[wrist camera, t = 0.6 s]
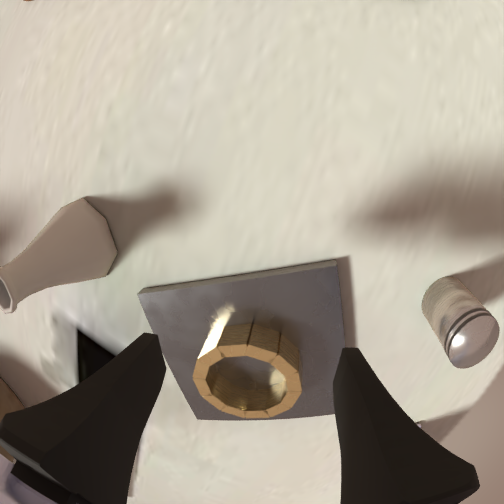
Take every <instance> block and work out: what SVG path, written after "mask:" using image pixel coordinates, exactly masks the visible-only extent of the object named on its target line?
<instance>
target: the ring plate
mask: <svg viewBox="0 0 504 504" xmlns="http://www.w3.org/2000/svg"><path fill="white" fill-rule="evenodd" d="M137 295H138V298H139V300H140V303H141V305H142V308H143V310H144V312H145V315H146V317H147V319H148V322H149V324H150V326H151V329H152V331H153V333H154V334H157V335H158V338H159V342H160V346H161V350H162V353H163V355H164V357H165V359H166V361H167V363H168V365H169V367H170V369H171V371H172V373H173V375H174V377H175V379H176V381H177V383H178V385H179V387H180V389H181V390H182V392H183V394H184V396H185V398H186V400H187V402H188V403H189V405H190V407H191V409H192V411H193V412H194V414H195V416H196V418H197V419H201V420H273V419H290V418H302V417H313V416H322V415H330V414H335V410H334V401H333V380H334V376H335V373H336V370H337V366H338V363H339V359H340V355H341V352H342V348H345V338H344V326H343V315H342V305H341V295H340V286H339V278H338V270H337V264H336V260H329V261H323V262H317V263H311V264H305V265H299V266H293V267H286V268H280V269H274V270H267V271H261V272H254V273H248V274H241V275H235V276H228V277H221V278H215V279H208V280H201V281H194V282H187V283H180V284H173V285H165V286H158V287H151V288H143V289H142V290H141V291H140V292H139V293H138V294H137Z"/></svg>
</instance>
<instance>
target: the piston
mask: <svg viewBox="0 0 504 504" xmlns="http://www.w3.org/2000/svg"><path fill="white" fill-rule="evenodd" d="M422 312H423V314H424V316H425V317H426V319H427V321H428V322H429V324H430V326H431V327H432V329H433V331H434V332H435V334H436V336H437V337H438V339H439V341H440V343H441V344H442V346H443V348H444V350H445V352H446V354H447V356H448V358H449V360H450V361H451V363H452V364H453V365H454V366H455V367H457V368H469V367H472V366H474V365H476V364H477V363H479V362H480V361H482V360H483V359H484V358H485V357H486V356H487V355H488V354H489V353H490V352H491V351H492V349H493V348H494V346H495V344H496V342H497V340H498V337H499V325H498V322H497V321H496V319H495V318H494V317H493V316H492V315H491V313H490V312H489V311H488V310H486V308H485V307H484V306H483V305H482V304H481V303H480V302H479V301H478V300H477V299H476V298H475V296H474V295H473V294H472V293H471V292H470V291H469V290H468V289H467V288H466V287H465V286H464V285H463V284H462V283H461V282H460V281H459V280H458V279H457V278H455V277H443V278H440V279H438V280H437V281H435V282H434V283H433V284H432V285H431V286H430V287H429V288H428V289H427V291H426V292H425V294H424V297H423V300H422Z"/></svg>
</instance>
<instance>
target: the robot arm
mask: <svg viewBox="0 0 504 504" xmlns="http://www.w3.org/2000/svg"><path fill="white" fill-rule="evenodd" d="M165 373H166V366H165V362H164V358H163V354H162V350H161V346H160V342H159V338H158V335H157V334H150V333H143V334H142V335H141V336H139V337H138V338H137V339H136V340H135V341H134V342H132V343H131V344H130V345H129V346H128V347H127V348H125V349H124V350H123V351H122V352H121V353H120V354H118V355H117V356H116V357H115V358H113V359H112V360H111V361H110V362H109V363H107V364H106V365H105V366H103V367H102V368H101V369H99V370H98V371H97V372H95V373H94V374H93V375H91V376H90V377H89V378H87V379H86V380H84V381H83V382H81V383H79V384H78V385H76V386H75V387H73V388H71V389H69V390H68V391H66V392H64V393H62V394H60V395H58V396H56V397H54V398H52V399H50V400H47V401H45V402H42V403H40V404H37V405H35V406H32V407H29V408H26V409H22V410H18V411H15V412H11V413H6V414H5V416H4V417H3V419H2V420H1V422H0V445H1V446H2V447H3V448H4V449H5V450H6V451H7V452H8V453H9V454H10V455H11V456H13V457H14V458H15V459H16V460H17V461H16V463H15V465H14V464H13V463H12V462H11V461H9V460H8V459H7V458H5V457H4V456H3V455H1V454H0V504H127V496H128V488H129V483H130V478H131V473H132V468H133V464H134V460H135V456H136V452H137V448H138V445H139V441H140V438H141V435H142V433H143V430H144V428H145V425H146V423H147V421H148V418H149V416H150V414H151V411H152V409H153V407H154V404H155V402H156V400H157V397H158V395H159V393H160V390H161V387H162V384H163V380H164V376H165ZM333 401H334V410H335V417H336V423H337V430H338V436H339V443H340V450H341V504H458V503H460V502H461V501H463V500H464V499H466V498H467V497H469V496H470V495H472V494H473V493H474V492H476V491H477V490H478V489H479V487H480V484H479V480H478V476H477V473H476V470H475V467H474V466H473V465H472V464H470V463H468V462H466V461H465V460H463V459H461V458H459V457H457V456H456V455H454V454H452V453H451V452H450V451H448V450H447V449H445V448H444V447H443V446H441V445H440V444H439V443H437V442H436V441H435V440H434V439H433V438H431V437H430V436H429V435H428V434H427V433H425V432H424V431H423V430H422V429H421V427H422V426H421V424H416V423H415V422H414V421H413V420H412V419H411V418H410V417H409V416H408V415H407V414H406V413H405V412H404V411H403V410H402V408H401V407H400V406H399V405H398V404H397V402H396V401H395V400H394V399H393V398H392V396H391V395H390V394H389V392H388V391H387V390H386V388H385V387H384V386H383V384H382V383H381V381H380V380H379V379H378V377H377V376H376V374H375V373H374V371H373V370H372V368H371V367H370V365H369V364H368V362H367V361H366V359H365V358H364V356H363V355H362V353H361V351H360V350H359V349H358V348H342V352H341V355H340V359H339V363H338V366H337V370H336V373H335V376H334V380H333Z"/></svg>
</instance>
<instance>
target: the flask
mask: <svg viewBox="0 0 504 504" xmlns="http://www.w3.org/2000/svg"><path fill="white" fill-rule="evenodd" d="M117 253H118V252H117V250H116V247H115V244H114V241H113V238H112V236H111V233H110V230H109V227H108V224H107V221H106V219H105V218H104V217H103V216H102V215H101V214H100V213H99V212H98V211H96V210H95V209H94V208H93V207H92V206H91V205H90V204H89V203H88V202H87V201H86V200H84V199H83V198H81V199H79V200H77V201H74V202H72V203H70V204H68V205H66V206H64V207H62V208H61V209H60V210H59V211H58V212H57V213H56V214H55V215H54V216H53V218H52V219H51V220H50V221H49V222H48V223H47V225H46V226H45V227H44V228H43V229H42V230H41V232H40V233H39V234H38V235H37V236H36V237H35V238H34V240H33V241H32V242H31V243H30V244H29V245H28V247H27V248H26V249H25V250H24V251H23V252H22V253H20V254H19V255H18V256H17V257H16V258H15V259H13V260H12V261H11V262H10V263H8V264H7V265H5V266H3V267H1V266H0V309H1V310H2V311H3V312H4V313H5V314H7V313H13V312H14V311H15V310H16V308H17V304H18V303H19V302H20V301H22V300H23V299H25V298H26V297H27V296H29V295H31V294H33V293H36V292H38V291H41V290H43V289H45V288H49V287H53V286H58V285H64V284H71V283H77V282H82V281H87V280H92V279H97V278H101V277H106V275H107V273H108V271H109V269H110V267H111V265H112V263H113V261H114V259H115V257H116V255H117Z"/></svg>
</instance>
